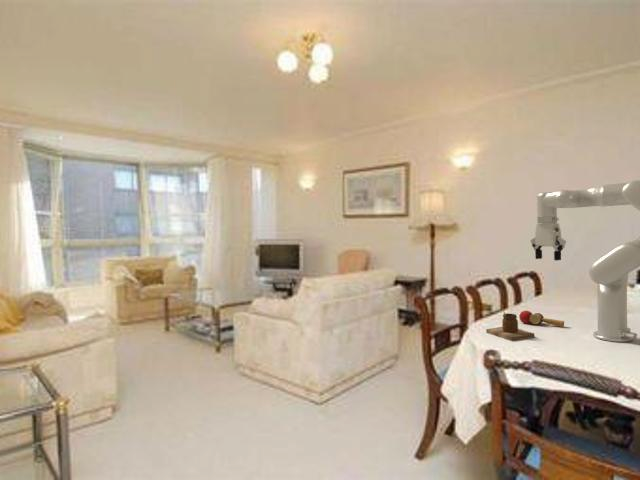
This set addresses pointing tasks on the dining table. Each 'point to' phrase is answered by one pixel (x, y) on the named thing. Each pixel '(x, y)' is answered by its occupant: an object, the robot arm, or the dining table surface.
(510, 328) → the utensil holder
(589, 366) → the dining table surface
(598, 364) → the dining table surface
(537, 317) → the kendama
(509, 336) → the board
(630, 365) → the dining table surface
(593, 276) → the robot arm
